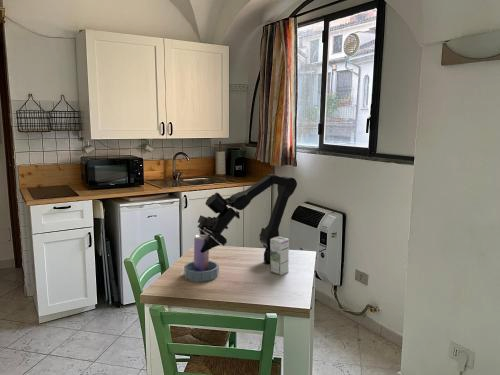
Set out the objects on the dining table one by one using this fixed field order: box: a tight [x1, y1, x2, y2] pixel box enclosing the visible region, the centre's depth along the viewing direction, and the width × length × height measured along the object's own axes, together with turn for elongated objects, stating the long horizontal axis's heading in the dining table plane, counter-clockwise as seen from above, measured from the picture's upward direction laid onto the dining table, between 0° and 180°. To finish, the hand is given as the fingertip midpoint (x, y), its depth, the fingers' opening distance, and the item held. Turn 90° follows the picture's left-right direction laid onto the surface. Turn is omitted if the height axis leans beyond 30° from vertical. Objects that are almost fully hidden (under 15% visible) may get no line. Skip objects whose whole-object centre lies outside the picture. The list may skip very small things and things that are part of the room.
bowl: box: [183, 260, 220, 283], centre depth 166 cm, size 14×14×4 cm
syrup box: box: [269, 235, 290, 276], centre depth 169 cm, size 6×6×14 cm
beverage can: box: [193, 234, 210, 272], centre depth 165 cm, size 6×6×15 cm
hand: (198, 250), depth 164 cm, fingers closed on beverage can, 6 cm apart
